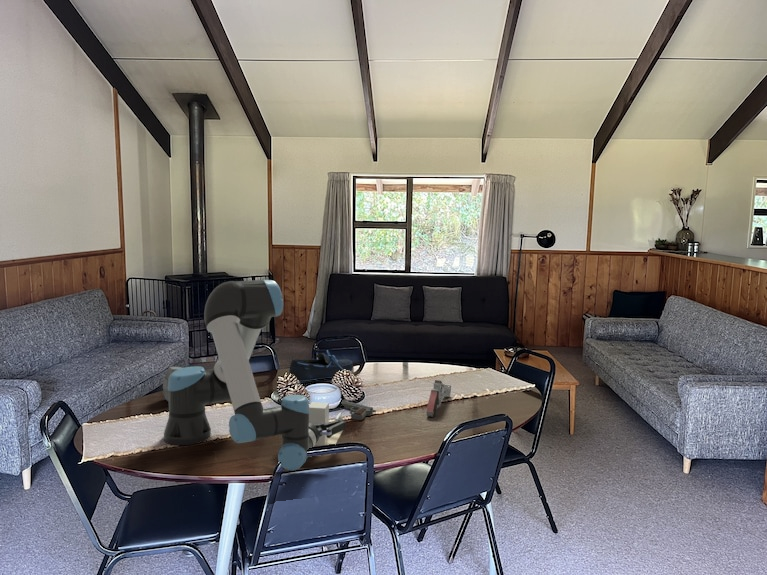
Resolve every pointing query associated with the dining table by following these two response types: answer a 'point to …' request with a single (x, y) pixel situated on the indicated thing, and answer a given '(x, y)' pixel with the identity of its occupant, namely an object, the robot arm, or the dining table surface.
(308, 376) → the moccasin
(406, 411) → the dining table surface
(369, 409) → the handgun
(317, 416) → the tall cream block
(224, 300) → the robot arm
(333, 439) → the board
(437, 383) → the revolver
